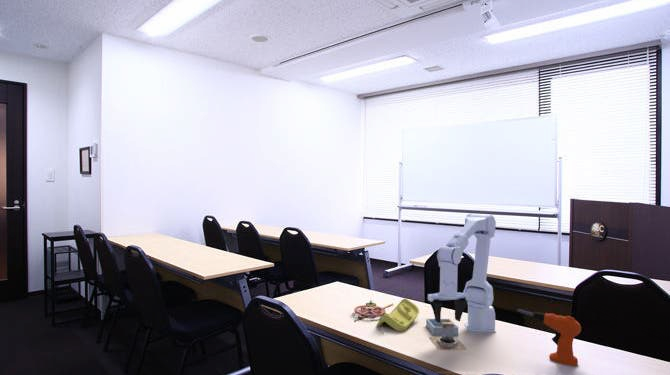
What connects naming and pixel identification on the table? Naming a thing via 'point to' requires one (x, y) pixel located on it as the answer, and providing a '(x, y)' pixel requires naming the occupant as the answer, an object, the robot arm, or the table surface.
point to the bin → (438, 326)
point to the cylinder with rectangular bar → (447, 332)
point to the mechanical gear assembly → (370, 310)
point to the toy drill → (560, 335)
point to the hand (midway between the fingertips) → (447, 320)
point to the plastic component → (401, 316)
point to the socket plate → (447, 344)
